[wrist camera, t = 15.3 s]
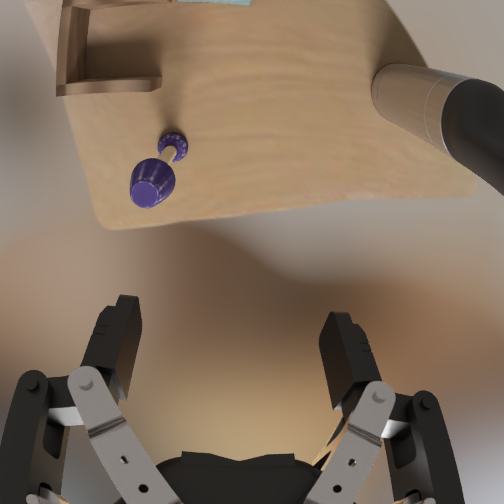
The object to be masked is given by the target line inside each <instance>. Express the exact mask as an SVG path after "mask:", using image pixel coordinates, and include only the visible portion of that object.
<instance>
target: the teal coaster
mask: <svg viewBox="0 0 504 504" xmlns="http://www.w3.org/2000/svg"><path fill="white" fill-rule="evenodd" d="M177 1H178V2H211V3H226V4H237V5H246V6H250V1H251V0H177Z"/></svg>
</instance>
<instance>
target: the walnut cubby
mask: <svg viewBox="0 0 504 504" xmlns="http://www.w3.org/2000/svg"><path fill="white" fill-rule="evenodd" d="M154 3H171V0H63V4H62V11H61V19H60V28H59V38H58V51H57V71H56V96H65V95H77V94H90V93H109V92H151V91H153V90H156V89H158V88H160V87H161V81H162V77H113V78H96V79H84V75H85V57H86V44H87V33H88V24H89V16H90V10H93V9H99V8H107V7H115V6H125V5H137V4H154Z"/></svg>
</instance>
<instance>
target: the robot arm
mask: <svg viewBox="0 0 504 504" xmlns="http://www.w3.org/2000/svg"><path fill="white" fill-rule="evenodd" d="M372 99H373V103H374V105H375V107H376V109H377V111H378V112H379V113H380V115H382V116H383V117H384V118H385V119H387V120H389V121H391V122H392V123H394V124H396V125H398V126H399V127H401V128H403V129H405V130H407V131H408V132H410V133H412V134H414V135H415V136H417V137H419V138H421V139H422V140H424V141H426V142H427V143H429V144H431V145H432V146H434V147H435V148H437V149H439V150H440V151H442V152H444V153H445V154H447V155H448V156H450V157H451V158H453V159H454V160H456V161H457V162H459V163H460V164H462V165H464V166H465V167H467V168H468V169H469V170H471V171H472V172H474V173H475V174H477V175H478V176H479V177H481V178H482V179H484V180H485V181H486V182H487V183H489V184H490V185H491V186H493V187H494V188H495V189H496V190H497V191H498V192H500V193H501V194H502V195H503V196H504V91H503V90H502V89H500V88H499V87H497V86H496V85H494V84H492V83H489V82H486V81H482V80H479V79H475V78H471V77H468V76H463V75H459V74H455V73H450V72H445V71H441V70H436V69H430V68H425V67H419V66H414V65H407V64H399V63H395V64H390V65H387V66H385V67H384V68H382V69H381V70H380V71H379V72H378V73H377V75H376V76H375V78H374V81H373V84H372ZM141 333H142V318H141V311H140V304H139V298H138V297H137V296H129V295H120V296H119V298H118V300H117V303H116V306H107V307H106V308H105V309H104V310H103V311H102V312H101V313H100V314H99V317H98V319H97V322H96V326H95V327H94V330H93V334H92V335H91V338H90V341H89V343H88V346H87V349H86V352H85V355H84V358H83V361H82V363H81V365H80V367H78V368H76V369H75V370H73V371H72V372H71V374H70V375H68V376H63V377H52V378H47V377H46V376H45V375H44V374H43V373H42V372H40V371H38V370H30V371H27V372H25V373H24V374H23V375H22V376H21V377H20V379H19V381H18V383H17V387H16V390H15V393H14V396H13V399H12V403H11V406H10V409H9V413H8V417H7V420H6V424H5V428H4V432H3V436H2V441H1V445H0V504H69V503H68V501H67V500H66V499H65V498H63V497H62V496H61V486H62V477H63V476H62V475H63V469H64V468H63V467H64V461H65V454H66V448H67V441H68V435H69V430H70V425H83V424H84V425H85V427H86V429H87V431H88V437H89V439H90V441H91V443H92V445H93V447H94V449H95V451H96V453H97V455H98V457H99V459H100V460H101V462H102V464H103V466H104V468H105V469H106V471H107V473H108V475H109V476H110V478H111V479H112V481H113V483H114V485H115V486H116V488H117V489H118V491H119V493H120V494H121V496H122V497H120V498H119V499H118V500H117V501H116V502H115V503H114V504H356V503H355V502H354V500H355V499H356V497H357V495H358V493H359V491H360V489H361V488H362V486H363V484H364V482H365V480H366V478H367V476H368V474H369V472H370V470H371V468H372V466H373V464H374V462H375V460H376V457H377V455H378V453H379V451H380V449H381V446H382V442H381V441H380V438H381V437H383V439H384V444H385V449H386V454H387V460H388V466H389V472H390V477H391V484H392V490H393V497H394V503H393V504H465V502H464V497H463V492H462V487H461V483H460V478H459V474H458V469H457V465H456V462H455V457H454V454H453V450H452V446H451V442H450V439H449V436H448V432H447V429H446V425H445V422H444V418H443V415H442V412H441V409H440V406H439V403H438V400H437V398H436V397H435V396H434V395H433V394H432V393H430V392H428V391H419V392H417V393H416V394H415V395H414V396H407V395H402V394H398V393H395V392H394V391H393V389H392V388H391V387H390V386H389V385H388V384H386V383H384V382H382V379H381V376H380V373H379V371H378V368H377V365H376V362H375V359H374V356H373V353H372V352H371V348H370V345H369V344H368V343H369V342H368V339H367V337H366V334H365V332H364V331H363V330H362V328H361V327H360V326H359V325H358V324H353V323H352V320H351V317H350V315H349V313H348V312H334V311H331V312H330V313H329V315H328V317H327V319H326V322H325V324H324V327H323V329H322V331H321V333H320V336H319V349H320V353H321V357H322V362H323V366H324V371H325V375H326V379H327V384H328V389H329V394H330V398H331V403H332V408H333V410H342V413H343V416H342V417H341V419H340V420H339V422H338V424H337V426H336V427H335V429H334V431H333V433H332V434H331V436H330V438H329V439H328V441H327V443H326V445H325V446H324V447H323V449H322V450H321V452H320V453H319V454H318V456H317V457H316V458H315V460H314V461H313V462H312V464H311V465H310V464H308V463H306V462H303V461H300V460H295V457H294V453H293V454H271V455H270V454H269V455H264V456H260V457H256V458H251V459H247V460H243V461H236V460H232V459H228V458H224V457H221V456H217V455H213V454H210V453H196V452H185V451H182V456H181V457H176V458H172V459H169V460H166V461H163V462H161V463H159V464H158V465H156V466H155V465H154V464H153V462H152V461H151V459H150V458H149V456H148V455H147V453H146V452H145V450H144V449H143V447H142V446H141V444H140V442H139V441H138V439H137V438H136V436H135V434H134V433H133V431H132V429H131V428H130V426H129V425H128V423H127V421H126V420H125V418H124V417H123V415H122V413H121V412H120V410H119V408H118V402H119V399H122V400H127V396H128V391H129V386H130V381H131V377H132V372H133V368H134V363H135V359H136V354H137V350H138V346H139V342H140V338H141Z"/></svg>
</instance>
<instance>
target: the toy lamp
mask: <svg viewBox="0 0 504 504" xmlns="http://www.w3.org/2000/svg"><path fill="white" fill-rule="evenodd" d="M187 150H188V143H187V141H186V139H185V138H184V137H183V136H182V135H181V134H178V133H175V132H172V133H168V134H166V135H164V136H163V137H162V138H161V139H160V141H159V143H158V152H159V154H160V155H159V157H158V158H157V159H155V158H150V159H146V160H143V161H141V162H140V163H139V164H137V166H136V167H135V168H134V170H133V172H132V175H131V182H130V196H131V199H132V201H133V202H134V203H135V204H136V205H137V206H139V207H141V208H151V207H154V206H156V205H157V204H159V203H160V202H162V201H163V200H164V199H166V198H167V197H168V196H169V195H170V194H171V193H172V191H173V189H174V186H175V175H174V172H173V170H172V168H171V167H170V164H171V163H172V162H176V161H179V160H181V159H182V158H183V157H184V156H185V155H186V153H187Z"/></svg>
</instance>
